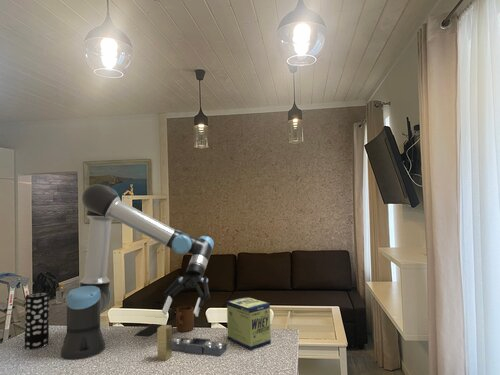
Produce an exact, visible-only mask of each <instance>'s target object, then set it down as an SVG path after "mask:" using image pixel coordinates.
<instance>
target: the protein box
mask: <svg viewBox="0 0 500 375" xmlns="http://www.w3.org/2000/svg"><path fill="white" fill-rule="evenodd" d="M226 304H227V305H226V312H227V313H226V314H227V315H226V316H227V317H226V318H227V319H226V320H227V321H226V322H227V340H228V341H230V342H233V343H234V344H236V345H239V346H240V347H243V348H245V349H247V350H249V351H253V350H255V349H256V350H257V349H258V348H263V347H265V346H267V345H271V344H272V339H271V338H272V336H271V303H270V302H266V301H262V300H258V299H255V298H252V297H247V296H245V297H240V298H236V299H232V300H231V299H230V300H227V302H226ZM270 343H271V344H270Z"/></svg>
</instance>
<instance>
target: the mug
mask: <svg viewBox="0 0 500 375" xmlns="http://www.w3.org/2000/svg"><path fill="white" fill-rule="evenodd" d="M194 310H195V309H194V307H193V306H191V305H183V306H178V307H177V308H176V316H175V322H176V331H177V332H180V333H188V332H191V331H193V330H194V328H195V324H194V323H195V315H194V313H193V312H194Z"/></svg>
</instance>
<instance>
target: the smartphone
mask: <svg viewBox="0 0 500 375" xmlns="http://www.w3.org/2000/svg"><path fill="white" fill-rule="evenodd" d="M162 325H163V324H156V323H152V324H150V325H148V326H147V327H144V328H143V329H142V330H140V331H137V333H135V334H133V338H140V337H142V338H141V339H150V338H152V337H153V336H155V335H156V334H157V328H158V327H160V326H162Z"/></svg>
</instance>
